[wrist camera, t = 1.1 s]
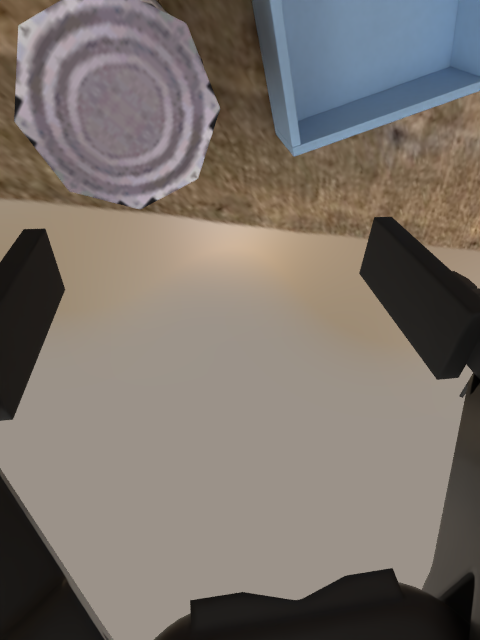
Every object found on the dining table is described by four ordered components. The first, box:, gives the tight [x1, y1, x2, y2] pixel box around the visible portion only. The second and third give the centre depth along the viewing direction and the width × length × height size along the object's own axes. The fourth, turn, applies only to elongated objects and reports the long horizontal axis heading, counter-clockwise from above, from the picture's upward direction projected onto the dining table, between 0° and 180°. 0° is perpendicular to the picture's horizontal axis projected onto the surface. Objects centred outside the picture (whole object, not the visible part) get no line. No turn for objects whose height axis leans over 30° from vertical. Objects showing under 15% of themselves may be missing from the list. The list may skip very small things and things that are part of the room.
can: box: [14, 0, 220, 209], centre depth 26 cm, size 11×11×12 cm
